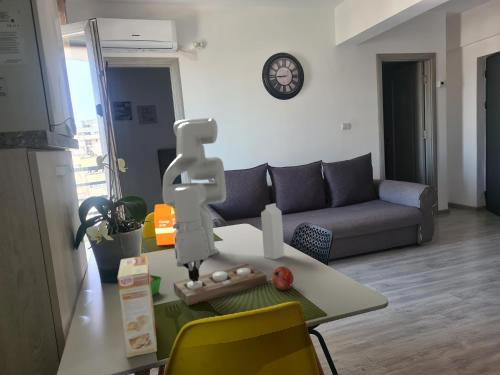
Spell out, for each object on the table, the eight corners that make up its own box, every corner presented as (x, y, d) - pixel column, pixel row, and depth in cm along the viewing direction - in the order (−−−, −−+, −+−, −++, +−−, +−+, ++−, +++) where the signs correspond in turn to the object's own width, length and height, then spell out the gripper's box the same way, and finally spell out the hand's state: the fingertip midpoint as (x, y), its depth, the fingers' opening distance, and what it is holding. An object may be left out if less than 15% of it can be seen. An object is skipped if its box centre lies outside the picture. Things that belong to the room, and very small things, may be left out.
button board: (174, 290, 120) (173, 281, 120) (247, 271, 133) (246, 263, 133) (188, 305, 108) (187, 295, 108) (267, 282, 121) (266, 273, 121)
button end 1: (185, 289, 117) (185, 282, 117) (199, 285, 119) (198, 279, 119) (190, 294, 113) (190, 287, 113) (204, 290, 115) (204, 283, 115)
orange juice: (174, 244, 180) (170, 204, 177) (156, 245, 180) (152, 206, 177) (177, 239, 187) (173, 202, 185) (160, 241, 188) (156, 203, 185)
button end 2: (234, 276, 126) (234, 270, 125) (246, 273, 128) (246, 266, 128) (241, 280, 122) (240, 273, 121) (253, 277, 124) (253, 270, 124)
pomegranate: (281, 288, 121) (260, 277, 116) (292, 269, 122) (272, 258, 117) (294, 298, 115) (273, 287, 110) (305, 278, 115) (285, 266, 110)
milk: (284, 256, 148) (281, 203, 145) (274, 260, 144) (271, 206, 141) (273, 253, 153) (270, 202, 150) (263, 257, 149) (260, 204, 146)
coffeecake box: (157, 351, 85) (148, 272, 82) (125, 358, 83) (115, 277, 80) (155, 322, 99) (148, 254, 97) (128, 328, 97) (120, 258, 95)
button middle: (210, 280, 121) (210, 273, 121) (223, 276, 124) (223, 270, 123) (216, 284, 117) (216, 277, 117) (229, 281, 119) (229, 274, 119)
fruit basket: (137, 305, 111) (133, 270, 110) (118, 300, 116) (114, 267, 114) (164, 291, 120) (160, 259, 119) (146, 287, 125) (142, 256, 124)
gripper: (169, 232, 107) (175, 290, 110) (215, 223, 114) (220, 278, 117) (162, 227, 114) (168, 282, 116) (206, 219, 121) (211, 271, 123)
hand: (194, 280), depth 116 cm, fingers closed
